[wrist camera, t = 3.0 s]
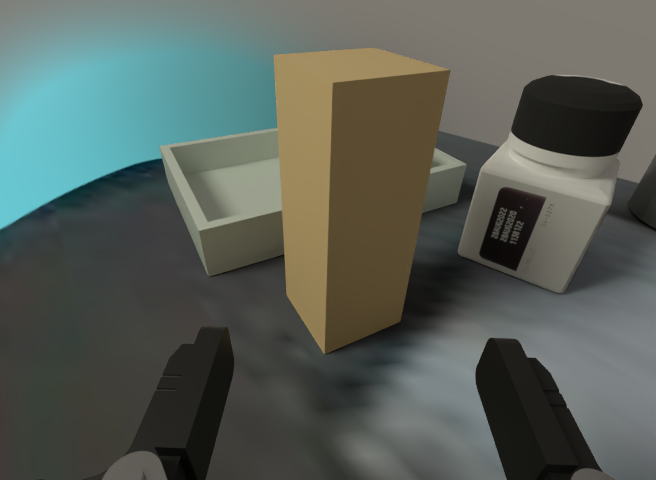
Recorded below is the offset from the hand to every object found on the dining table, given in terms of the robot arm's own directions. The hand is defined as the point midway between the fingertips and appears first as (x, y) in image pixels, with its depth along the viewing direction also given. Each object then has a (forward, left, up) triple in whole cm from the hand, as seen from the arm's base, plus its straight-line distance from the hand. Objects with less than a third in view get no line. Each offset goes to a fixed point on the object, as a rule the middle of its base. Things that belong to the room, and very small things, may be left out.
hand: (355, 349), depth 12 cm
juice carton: (-5, -9, -9) cm, 13 cm away
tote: (-10, -24, -9) cm, 27 cm away
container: (-21, -8, -9) cm, 24 cm away
